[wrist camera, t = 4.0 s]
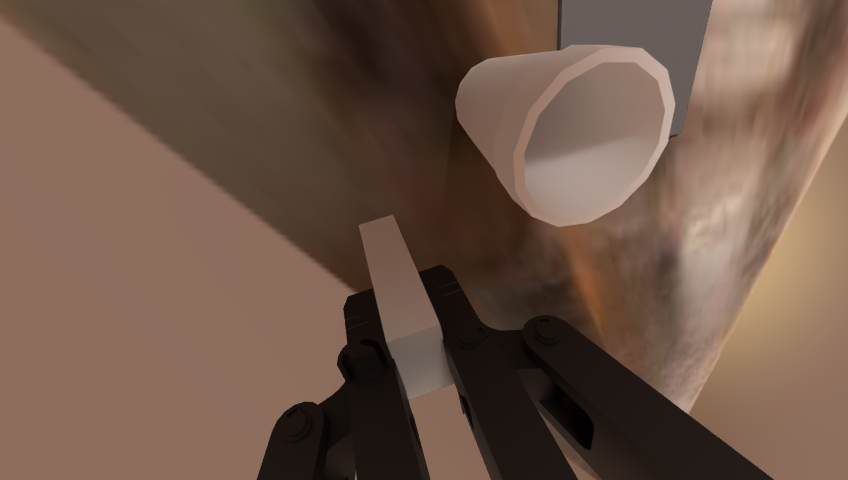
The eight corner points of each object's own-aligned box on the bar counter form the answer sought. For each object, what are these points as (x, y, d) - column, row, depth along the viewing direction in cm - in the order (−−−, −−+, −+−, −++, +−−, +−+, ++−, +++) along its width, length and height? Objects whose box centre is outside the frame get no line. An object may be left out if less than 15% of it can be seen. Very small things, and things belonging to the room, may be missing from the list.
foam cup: (563, 71, 29) (705, 101, 19) (505, 170, 33) (598, 242, 22) (472, 9, 25) (589, 4, 15) (417, 130, 29) (479, 196, 18)
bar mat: (560, -35, 25) (563, -36, 25) (725, -73, 27) (730, -75, 27) (554, 169, 34) (556, 170, 34) (678, 131, 36) (681, 132, 36)
